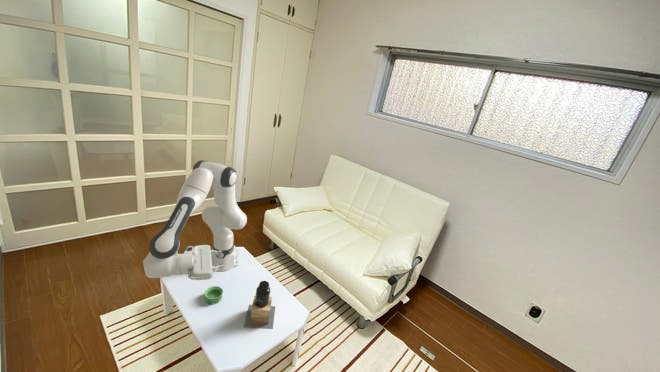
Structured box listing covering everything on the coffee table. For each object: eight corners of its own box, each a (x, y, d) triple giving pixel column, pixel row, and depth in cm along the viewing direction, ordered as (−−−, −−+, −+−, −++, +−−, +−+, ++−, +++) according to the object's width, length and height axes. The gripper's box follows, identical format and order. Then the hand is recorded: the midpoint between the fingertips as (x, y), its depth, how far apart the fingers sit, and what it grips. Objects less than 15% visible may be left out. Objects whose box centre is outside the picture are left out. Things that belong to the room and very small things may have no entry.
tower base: (253, 308, 140) (253, 302, 138) (270, 309, 141) (271, 303, 140) (249, 323, 132) (250, 316, 130) (268, 324, 133) (269, 317, 131)
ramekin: (203, 294, 143) (203, 288, 142) (221, 290, 148) (221, 284, 146) (205, 307, 136) (205, 300, 134) (223, 302, 140) (224, 296, 139)
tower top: (253, 302, 138) (254, 295, 137) (271, 303, 140) (272, 296, 138) (250, 316, 130) (251, 309, 128) (269, 317, 131) (270, 311, 130)
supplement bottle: (255, 309, 129) (257, 290, 125) (253, 298, 135) (255, 280, 131) (269, 306, 132) (272, 288, 128) (267, 296, 138) (269, 278, 133)
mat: (249, 305, 142) (249, 304, 142) (275, 306, 144) (275, 306, 144) (243, 328, 129) (243, 327, 129) (272, 329, 131) (272, 328, 131)
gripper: (187, 273, 106) (224, 268, 112) (188, 243, 122) (220, 241, 128) (187, 286, 108) (224, 280, 114) (188, 255, 124) (220, 251, 131)
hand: (222, 259), depth 121 cm, fingers open, 8 cm apart
